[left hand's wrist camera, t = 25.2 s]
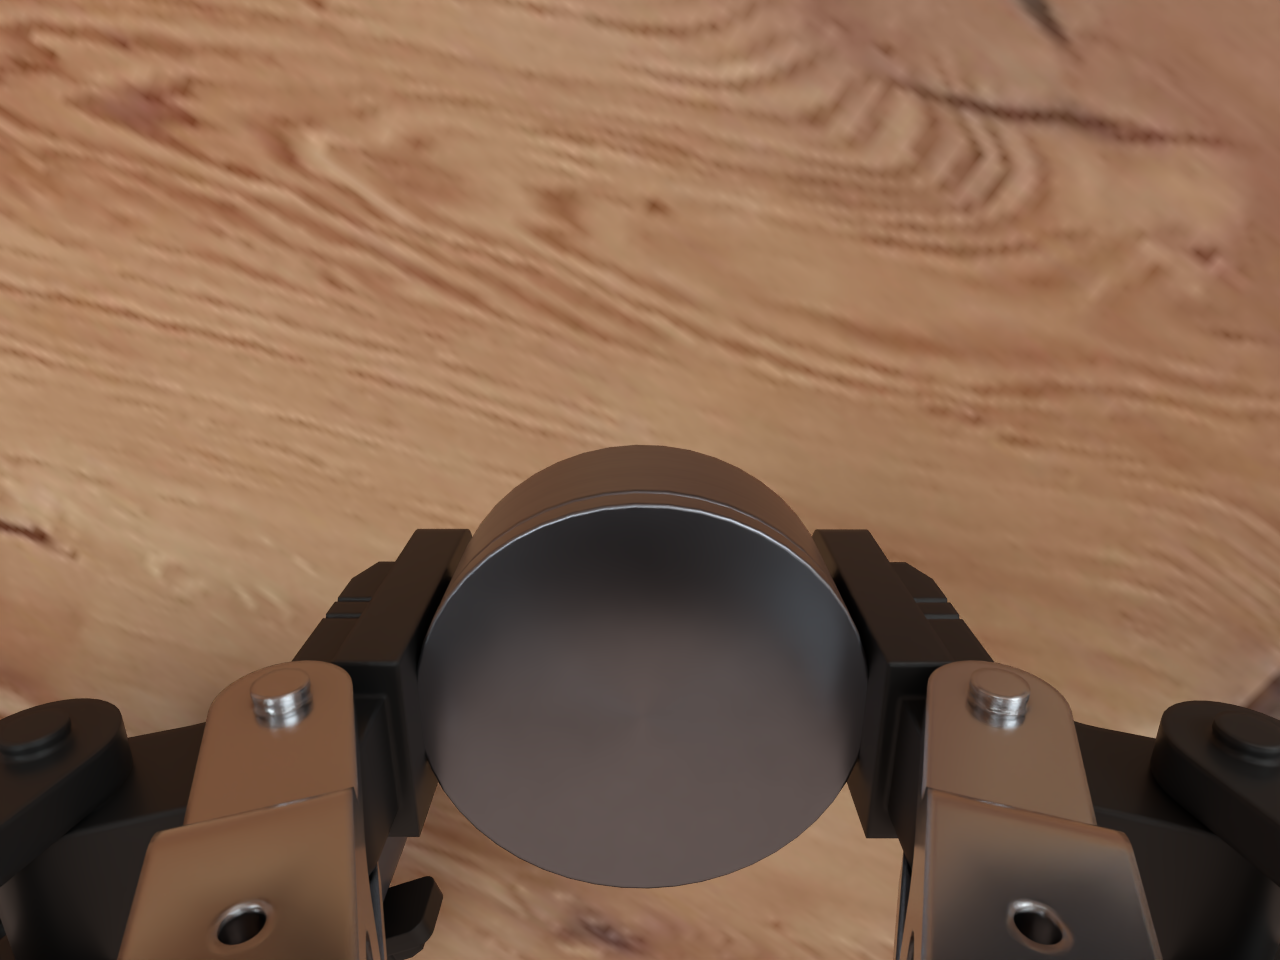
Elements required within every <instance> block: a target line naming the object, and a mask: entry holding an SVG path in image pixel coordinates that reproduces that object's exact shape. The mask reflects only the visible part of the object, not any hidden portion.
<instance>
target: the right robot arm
mask: <svg viewBox="0 0 1280 960" xmlns="http://www.w3.org/2000/svg"><path fill="white" fill-rule="evenodd" d="M442 900H443V894H442V892H441V891H440V889H439V887H438V886H437V884H436V882H435V881H434V879H433V878H432V877H430V876H426V877H422V878H419V879H416V880H413V881H409V882H406V883H403V884H400V885H396V886H393V887H390V888H388V891H387V893H386V896H385V899H384V901H383V914H384V927H385V940H386V953H387V960H404V959H408V958H411V957H413V956H414V955H416V954H417V953H418V952H419V951H421V950H422V949H423V947H424V944H425V942H426V941H427V940H428V939H429V938H430V937H431V935H432V933H433V931H434V927H435V924H436V920H437V917H438V914H439V910H440V907H441V903H442ZM5 935H6V932H5V930H4V927H3V924H2V921H1V919H0V940H1V939H2V938H3V937H4V936H5Z"/></svg>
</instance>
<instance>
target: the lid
mask: <svg viewBox="0 0 1280 960" xmlns="http://www.w3.org/2000/svg"><path fill="white" fill-rule="evenodd" d="M417 683H418V692H419V701H420V710H421V719H422V728H423V737H424V746H425V753H426V757H427V760H428V762H429V765H430V767H431V769H432V771H433V773H434V775H435V776H436V778H437V780H438V782H439V784H440V785H441V787H442V789H443V790H444V792H445V793H446V794H447V796H448V797H449V798H450V800H451V801H452V802H453V804H454V805H455V806H456V807H457V809H458V810H459V811H460V812H461V813H462V814H463V815H464V816H465V817H466V818H467V819H468V820H469V821H470V822H471V823H472V824H473V825H474V826H475V827H476V828H477V829H478V830H479V831H481V832H482V833H483V834H484V835H486V836H487V837H488V838H489V839H491V840H492V841H493V842H494V843H496V844H497V845H499V846H500V847H502V848H504V849H505V850H507V851H508V852H510V853H512V854H513V855H515V856H517V857H518V858H520V859H522V860H524V861H526V862H529V863H531V864H533V865H535V866H537V867H539V868H541V869H544V870H546V871H549V872H552V873H555V874H558V875H561V876H564V877H567V878H570V879H574V880H579V881H583V882H587V883H592V884H597V885H605V886H613V887H621V888H660V887H673V886H680V885H686V884H692V883H697V882H703V881H706V880H710V879H713V878H717V877H720V876H724V875H727V874H730V873H732V872H735V871H737V870H740V869H742V868H745V867H747V866H750V865H752V864H754V863H756V862H758V861H760V860H762V859H764V858H766V857H767V856H769V855H771V854H773V853H775V852H777V851H778V850H779V849H781V848H782V847H784V846H785V845H787V844H788V843H790V842H791V841H793V840H794V839H795V838H797V837H798V836H799V835H800V834H801V833H803V832H804V831H805V830H806V829H807V828H808V827H809V826H811V825H812V824H813V823H814V822H815V821H816V820H817V819H818V818H819V817H820V816H821V815H822V814H823V812H824V811H825V810H826V809H827V808H828V807H829V806H830V804H831V803H832V802H833V801H834V800H835V798H836V797H837V795H838V794H839V792H840V791H841V789H842V788H843V786H844V785H845V783H846V782H847V780H848V778H849V776H850V774H851V772H852V770H853V768H854V766H855V764H856V762H857V760H858V758H859V752H860V745H861V737H862V728H863V719H864V711H865V702H866V693H867V684H868V663H867V657H866V654H865V651H864V647H863V644H862V641H861V638H860V635H859V632H858V630H857V628H856V626H855V624H854V622H853V620H852V618H851V616H850V614H849V611H848V609H847V607H846V605H845V603H844V601H843V599H842V597H841V595H840V593H839V591H838V589H837V587H836V585H835V583H834V581H833V579H832V577H831V575H830V573H829V571H828V569H827V567H826V564H825V562H824V560H823V558H822V556H821V554H820V552H819V550H818V548H817V546H816V544H815V542H814V540H813V538H812V536H811V534H810V533H809V531H808V530H807V529H806V527H805V526H804V524H803V523H802V521H801V520H800V519H799V517H798V516H797V514H796V513H795V512H794V511H793V510H792V509H791V508H790V507H789V506H788V505H787V504H786V503H785V502H784V501H783V499H782V498H781V497H780V496H778V495H777V494H776V493H775V492H773V491H772V490H771V489H770V488H768V487H767V486H766V485H765V484H763V483H762V482H761V481H759V480H758V479H756V478H754V477H753V476H751V475H750V474H748V473H746V472H745V471H743V470H741V469H740V468H738V467H735V466H733V465H731V464H728V463H726V462H724V461H722V460H719V459H717V458H715V457H711V456H708V455H704V454H701V453H698V452H694V451H691V450H686V449H679V448H673V447H667V446H652V445H630V446H619V447H609V448H604V449H600V450H595V451H590V452H586V453H582V454H579V455H576V456H574V457H571V458H568V459H565V460H562V461H560V462H557V463H555V464H553V465H551V466H549V467H547V468H546V469H544V470H542V471H540V472H538V473H536V474H534V475H533V476H531V477H530V478H528V479H527V480H525V481H524V482H523V483H521V484H520V485H518V486H517V487H515V488H514V489H513V490H512V491H511V492H510V493H509V494H507V495H506V496H505V497H504V498H503V499H502V500H501V501H500V502H499V503H498V504H497V505H496V506H495V507H494V508H493V509H492V510H491V512H490V513H489V514H488V515H487V516H486V518H485V519H484V520H483V521H482V523H481V524H480V525H479V527H478V529H477V530H476V532H475V534H474V535H473V537H472V539H471V540H470V542H469V544H468V546H467V548H466V550H465V552H464V554H463V556H462V558H461V560H460V562H459V565H458V567H457V569H456V571H455V573H454V575H453V577H452V579H451V581H450V584H449V586H448V588H447V590H446V592H445V594H444V596H443V598H442V600H441V603H440V605H439V607H438V609H437V611H436V613H435V615H434V617H433V619H432V622H431V624H430V627H429V629H428V631H427V634H426V636H425V638H424V641H423V643H422V647H421V651H420V655H419V659H418V663H417Z"/></svg>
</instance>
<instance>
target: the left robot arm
mask: <svg viewBox="0 0 1280 960" xmlns="http://www.w3.org/2000/svg"><path fill="white" fill-rule="evenodd" d="M812 538H813V540H814V542H815V544H816V546H817V548H818V550H819V552H820V554H821V556H822V558H823V560H824V562H825V564H826V567H827V569H828V571H829V573H830V575H831V577H832V579H833V581H834V583H835V585H836V587H837V589H838V591H839V593H840V595H841V597H842V599H843V601H844V603H845V605H846V607H847V609H848V611H849V614H850V616H851V618H852V620H853V622H854V624H855V626H856V628H857V630H858V632H859V635H860V638H861V641H862V644H863V647H864V651H865V654H866V657H867V663H868V684H867V693H866V702H865V711H864V719H863V728H862V737H861V745H860V752H859V758H858V760H857V762H856V764H855V766H854V768H853V770H852V772H851V774H850V776H849V778H848V780H847V784H848V787H849V790H850V793H851V796H852V798H853V801H854V804H855V807H856V810H857V813H858V816H859V819H860V822H861V825H862V827H863V830H864V833H865V836H866V838H898V839H899V841H900V844H901V846H902V849H903V858H902V865H901V872H900V879H899V888H898V901H897V914H896V927H895V940H894V953H893V960H1280V720H1277V719H1275V718H1273V717H1270V716H1268V715H1265V714H1263V713H1260V712H1257V711H1254V710H1251V709H1248V708H1244V707H1240V706H1236V705H1232V704H1227V703H1221V702H1213V701H1186V702H1181V703H1177V704H1175V705H1173V706H1171V707H1169V708H1168V709H1167V710H1166V711H1165V712H1164V713H1163V716H1162V718H1161V722H1160V726H1159V729H1158V733H1157V737H1156V739H1155V738H1150V737H1145V736H1140V735H1135V734H1129V733H1124V732H1119V731H1114V730H1109V729H1104V728H1098V727H1094V726H1090V725H1085V724H1082V723H1078V722H1075V721H1074V720H1073V716H1072V711H1071V709H1070V706H1069V704H1068V702H1067V701H1066V699H1065V698H1064V697H1063V696H1062V695H1061V694H1060V693H1059V692H1058V691H1057V690H1056V689H1055V688H1054V687H1052V686H1051V685H1050V684H1048V683H1047V682H1045V681H1043V680H1042V679H1040V678H1038V677H1036V676H1034V675H1032V674H1030V673H1028V672H1025V671H1023V670H1020V669H1018V668H1014V667H1011V666H1008V665H1004V664H999V663H994V661H993V660H992V658H991V657H990V656H989V654H988V653H987V652H986V650H985V649H984V648H983V646H982V645H981V644H980V642H979V641H978V640H977V638H976V637H975V636H974V634H973V633H972V632H971V630H970V629H969V627H968V626H967V625H966V623H965V622H964V621H963V619H959V614H958V613H957V611H956V610H955V609H954V607H953V606H952V605H951V603H947V598H946V596H945V595H944V594H943V592H942V591H941V590H940V588H939V587H938V586H937V584H936V583H935V582H934V580H933V579H932V578H930V577H928V576H927V575H925V574H924V573H922V572H920V571H919V570H917V569H916V568H914V567H912V566H911V565H909V564H907V563H906V562H889V561H888V559H887V558H886V556H885V555H884V553H883V552H882V550H881V549H880V547H879V546H878V544H877V542H876V541H875V539H874V538H873V536H872V535H871V533H870V532H869V531H868V530H815V531H814V533H813V536H812ZM471 539H472V535H471V532H470V530H469V529H417V530H416V531H415V532H414V534H413V535H412V537H411V538H410V540H409V541H408V543H407V544H406V546H405V548H404V549H403V551H402V552H401V554H400V555H399V557H398V558H397V560H396V561H395V562H378V563H376V564H374V565H373V566H371V567H370V568H368V569H366V570H365V571H363V572H362V573H360V574H358V575H357V576H355V577H354V578H352V579H351V581H350V582H349V583H348V585H347V586H346V588H345V589H344V590H343V592H342V593H341V594H340V596H339V597H338V602H335V603H334V604H333V605H332V607H331V608H330V609H329V611H328V612H327V614H326V618H323V619H322V620H321V622H320V623H319V624H318V626H317V627H316V629H315V630H314V631H313V633H312V634H311V635H310V637H309V638H308V640H307V641H306V642H305V644H304V645H303V646H302V648H301V649H300V650H299V652H298V653H297V655H296V656H295V657H294V659H293V660H292V661H291V662H286V663H281V664H276V665H272V666H269V667H266V668H262V669H260V670H257V671H255V672H252V673H250V674H248V675H246V676H244V677H242V678H240V679H238V680H237V681H235V682H233V683H232V684H230V685H229V686H228V687H226V688H225V689H224V690H223V691H222V692H221V693H220V694H219V695H218V696H217V697H216V698H215V699H214V701H213V702H212V704H211V706H210V709H209V711H208V716H207V720H206V722H204V723H200V724H196V725H192V726H187V727H182V728H177V729H171V730H166V731H161V732H156V733H151V734H146V735H140V736H135V737H130V738H127V734H126V730H125V726H124V723H123V719H122V715H121V713H120V711H119V709H118V708H117V707H116V706H115V705H113V704H111V703H109V702H106V701H103V700H98V699H89V698H88V699H69V700H61V701H56V702H50V703H46V704H43V705H39V706H35V707H32V708H29V709H26V710H23V711H20V712H18V713H15V714H13V715H10V716H8V717H6V718H3V719H1V720H0V919H1V921H2V924H3V927H4V930H5V932H6V935H5V936H4V937H3V938H2V939H1V940H0V960H387V953H386V940H385V927H384V914H383V901H382V888H381V879H380V872H379V865H378V860H379V858H380V855H381V853H382V850H383V848H384V845H385V843H386V840H387V837H420V834H421V831H422V828H423V825H424V822H425V819H426V816H427V813H428V810H429V807H430V804H431V801H432V798H433V795H434V792H435V789H436V786H437V783H438V780H437V778H436V776H435V775H434V773H433V771H432V769H431V767H430V765H429V762H428V760H427V757H426V753H425V746H424V737H423V728H422V719H421V710H420V701H419V692H418V683H417V663H418V659H419V655H420V651H421V647H422V643H423V641H424V638H425V636H426V634H427V631H428V629H429V627H430V624H431V622H432V619H433V617H434V615H435V613H436V611H437V609H438V607H439V605H440V603H441V600H442V598H443V596H444V594H445V592H446V590H447V588H448V586H449V584H450V581H451V579H452V577H453V575H454V573H455V571H456V569H457V567H458V565H459V562H460V560H461V558H462V556H463V554H464V552H465V550H466V548H467V546H468V544H469V542H470V540H471Z"/></svg>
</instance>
